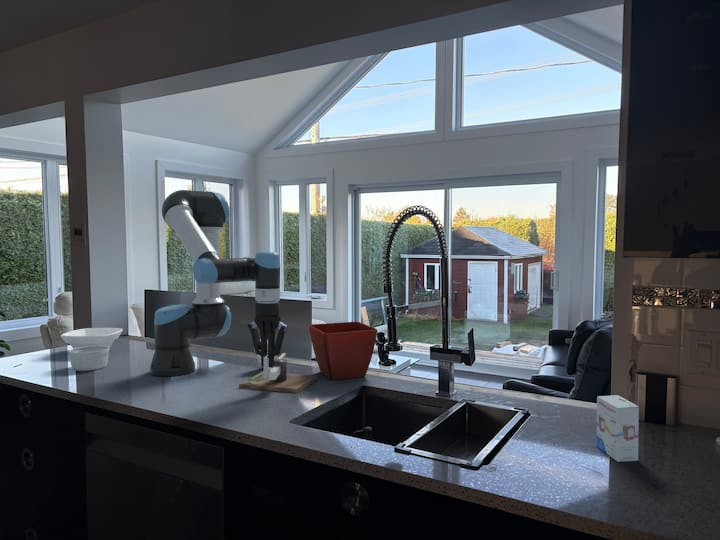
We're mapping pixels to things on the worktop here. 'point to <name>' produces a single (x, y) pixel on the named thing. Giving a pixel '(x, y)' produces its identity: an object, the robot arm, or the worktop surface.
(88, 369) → the ramekin
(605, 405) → the ink box
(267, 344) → the light bulb
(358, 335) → the plant pot
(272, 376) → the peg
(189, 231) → the robot arm
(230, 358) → the worktop surface
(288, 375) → the board
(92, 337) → the bowl
